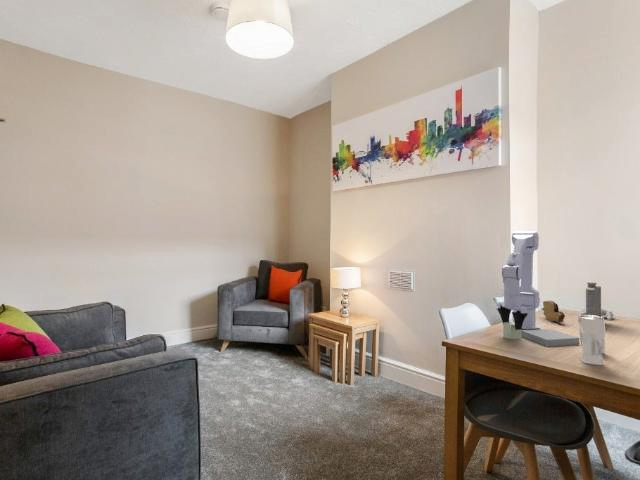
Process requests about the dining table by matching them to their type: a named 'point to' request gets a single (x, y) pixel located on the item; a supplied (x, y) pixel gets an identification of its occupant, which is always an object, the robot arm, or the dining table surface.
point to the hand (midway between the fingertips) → (511, 327)
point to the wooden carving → (552, 311)
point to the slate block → (550, 337)
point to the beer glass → (592, 339)
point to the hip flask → (593, 299)
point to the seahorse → (603, 313)
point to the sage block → (511, 330)
